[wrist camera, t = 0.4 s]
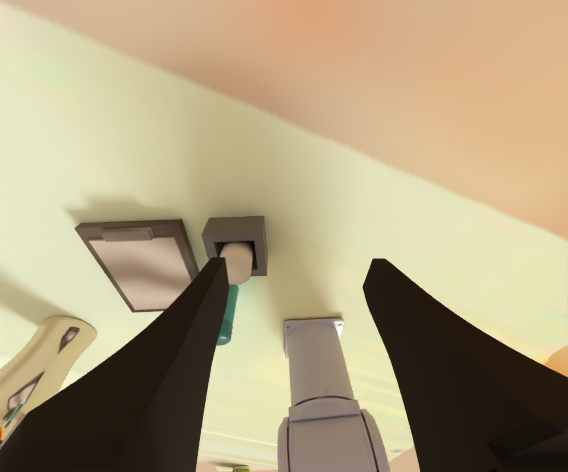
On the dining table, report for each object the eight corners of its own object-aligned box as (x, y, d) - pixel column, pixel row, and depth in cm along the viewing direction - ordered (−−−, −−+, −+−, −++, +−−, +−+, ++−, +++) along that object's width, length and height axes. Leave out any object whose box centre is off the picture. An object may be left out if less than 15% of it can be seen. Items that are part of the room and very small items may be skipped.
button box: (267, 257, 23) (266, 275, 21) (219, 259, 23) (214, 277, 21) (263, 216, 20) (262, 232, 18) (209, 218, 20) (201, 234, 18)
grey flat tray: (210, 303, 27) (207, 313, 26) (135, 306, 27) (129, 316, 26) (181, 219, 20) (175, 227, 19) (80, 223, 20) (69, 232, 19)
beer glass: (25, 315, 27) (-181, 511, 15) (82, 311, 27) (-76, 504, 15) (61, 345, 31) (-77, 518, 19) (111, 341, 31) (5, 512, 19)
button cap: (255, 258, 21) (252, 284, 19) (225, 260, 21) (219, 285, 19) (252, 235, 20) (248, 259, 17) (220, 236, 20) (212, 260, 17)
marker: (240, 295, 26) (232, 344, 22) (217, 296, 26) (205, 346, 21) (236, 279, 25) (228, 329, 20) (212, 281, 25) (198, 330, 20)
